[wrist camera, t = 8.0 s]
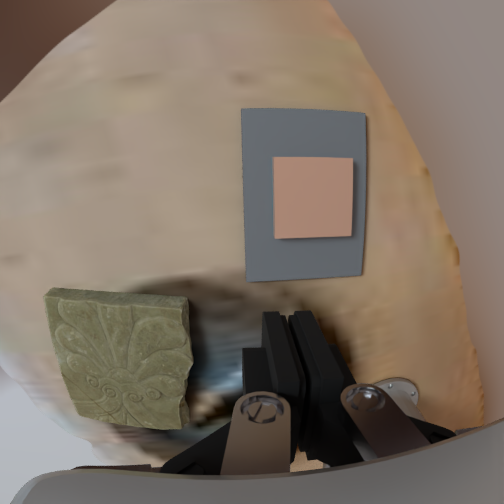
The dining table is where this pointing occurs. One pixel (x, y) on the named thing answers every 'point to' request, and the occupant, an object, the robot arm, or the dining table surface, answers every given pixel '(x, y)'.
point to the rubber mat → (261, 199)
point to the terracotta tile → (312, 197)
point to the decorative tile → (123, 355)
